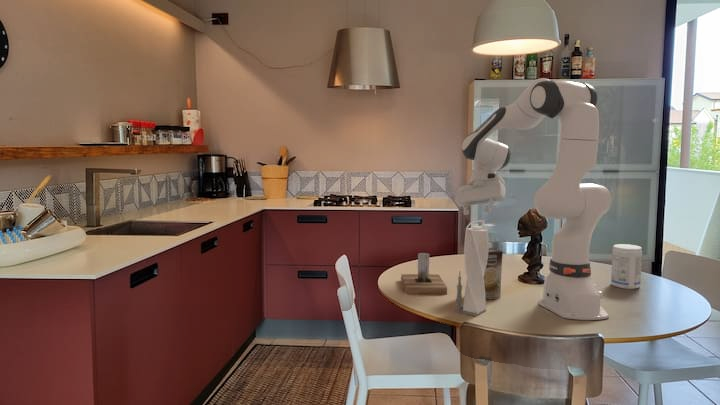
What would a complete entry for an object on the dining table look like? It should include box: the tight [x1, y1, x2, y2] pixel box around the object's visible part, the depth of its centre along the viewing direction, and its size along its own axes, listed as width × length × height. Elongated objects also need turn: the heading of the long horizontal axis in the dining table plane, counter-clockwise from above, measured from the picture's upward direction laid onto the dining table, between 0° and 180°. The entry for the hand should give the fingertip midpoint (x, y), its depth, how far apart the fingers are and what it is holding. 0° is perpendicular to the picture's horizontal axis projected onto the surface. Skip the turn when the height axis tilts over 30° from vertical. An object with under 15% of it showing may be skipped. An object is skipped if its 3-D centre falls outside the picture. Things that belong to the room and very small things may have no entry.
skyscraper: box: [454, 219, 490, 317], centre depth 159 cm, size 8×8×28 cm
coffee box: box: [483, 247, 503, 300], centre depth 175 cm, size 9×6×16 cm
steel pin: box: [417, 252, 430, 283], centre depth 187 cm, size 4×4×12 cm
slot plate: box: [400, 273, 448, 295], centre depth 188 cm, size 18×14×2 cm
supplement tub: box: [610, 243, 643, 290], centre depth 190 cm, size 10×10×15 cm
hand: (476, 212), depth 199 cm, fingers open, 8 cm apart
